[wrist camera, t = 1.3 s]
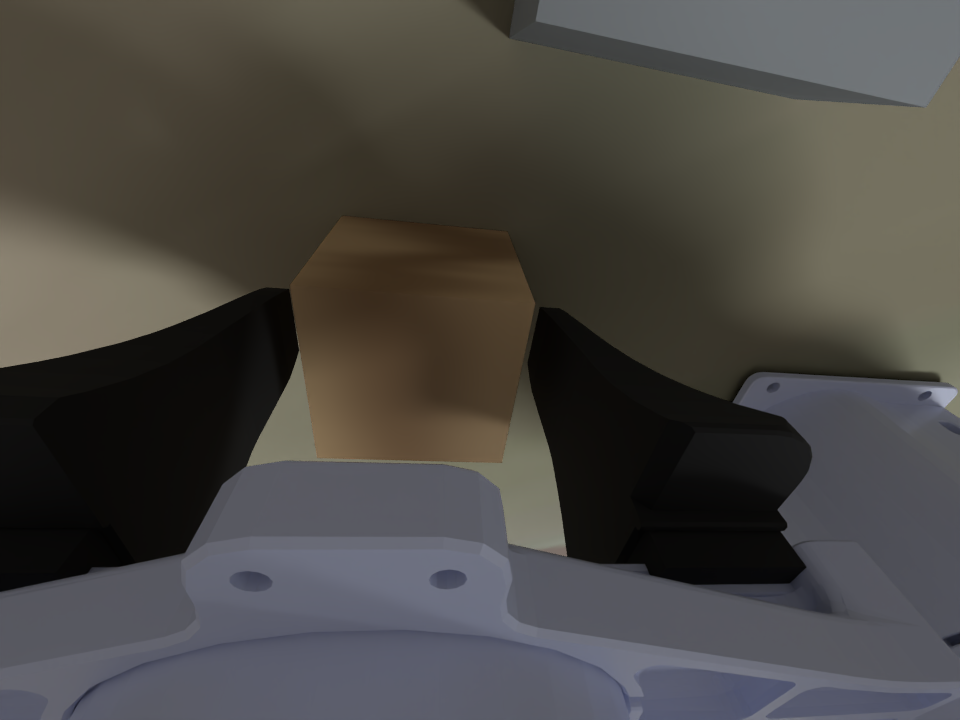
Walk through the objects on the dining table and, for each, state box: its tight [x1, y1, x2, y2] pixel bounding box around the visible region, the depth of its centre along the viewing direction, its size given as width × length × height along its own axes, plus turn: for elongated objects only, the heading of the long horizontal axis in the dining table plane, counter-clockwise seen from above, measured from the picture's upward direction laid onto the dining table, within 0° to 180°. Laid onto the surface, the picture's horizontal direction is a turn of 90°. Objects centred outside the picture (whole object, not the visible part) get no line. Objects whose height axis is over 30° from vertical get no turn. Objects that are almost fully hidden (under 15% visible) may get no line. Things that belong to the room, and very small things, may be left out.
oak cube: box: [290, 216, 535, 463], centre depth 12 cm, size 5×5×5 cm
